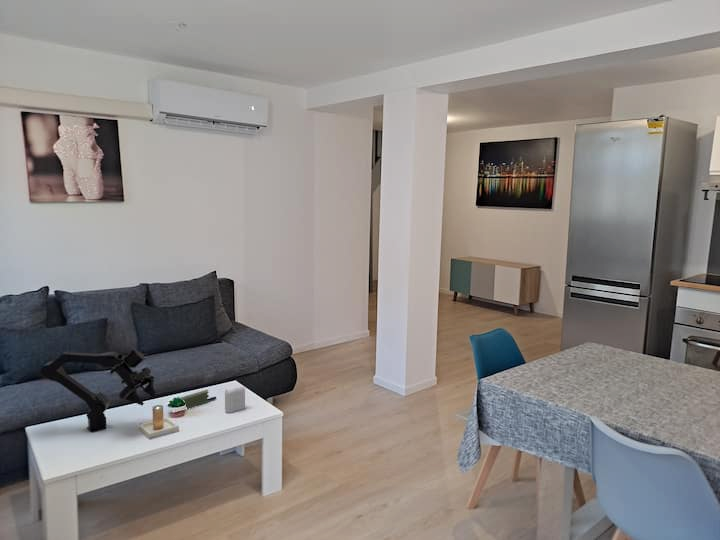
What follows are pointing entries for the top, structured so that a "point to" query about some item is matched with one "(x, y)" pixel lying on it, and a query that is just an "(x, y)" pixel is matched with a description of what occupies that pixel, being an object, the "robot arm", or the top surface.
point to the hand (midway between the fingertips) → (149, 401)
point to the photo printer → (234, 398)
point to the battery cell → (158, 417)
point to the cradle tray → (150, 433)
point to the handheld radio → (197, 399)
